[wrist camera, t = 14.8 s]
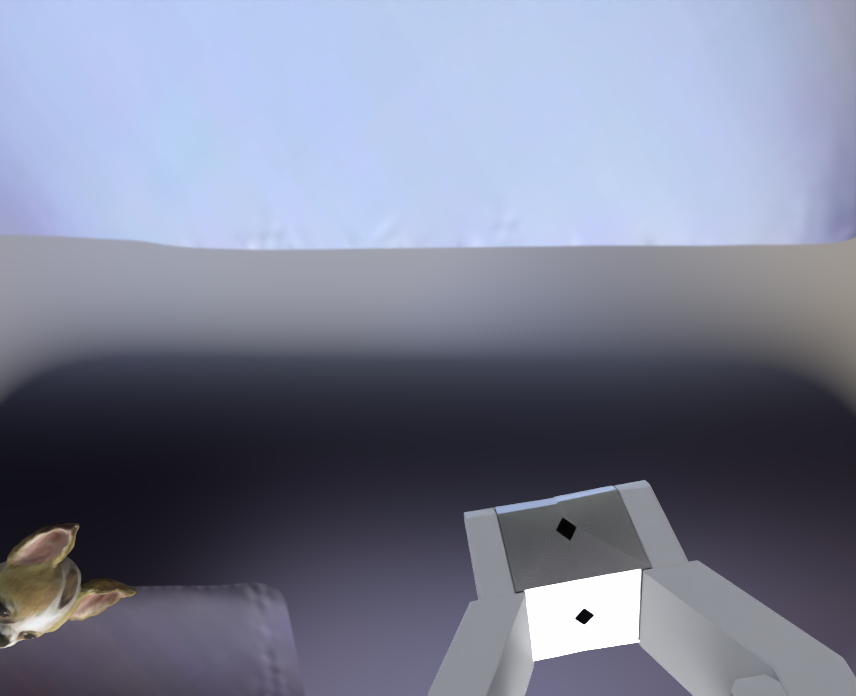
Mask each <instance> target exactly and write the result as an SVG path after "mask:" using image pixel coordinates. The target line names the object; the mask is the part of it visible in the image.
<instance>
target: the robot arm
mask: <svg viewBox="0 0 856 696" xmlns="http://www.w3.org/2000/svg"><path fill="white" fill-rule="evenodd" d="M464 519H465V520H464V521H465V526H466V532H467V537H468V543H469V549H470V555H471V560H472V566H473V571H474V577H475V582H476V588H477V593H478V599H479V600H477V601H472V602H470V604H469V606H468V608H467V610H466V612H465V615H464V617H463V619H462V621H461V623H460V625H459V628H458V630H457V632H456V634H455V636H454V638H453V641H452V643H451V645H450V647H449V649H448V651H447V654H446V656H445V658H444V660H443V662H442V664H441V667H440V669H439V671H438V674H437V675H436V678H435V680H434V682H433V684H432V686H431V688H430V690H429V693H428V695H427V696H525V692H526V689H527V686H528V683H529V679H530V676H531V673H532V670H533V666H534V661H535V660H540V659H545V658H550V657H555V656H559V655H564V654H569V653H574V652H578V651H583V650H589V649H595V648H602V647H609V646H615V645H621V644H628V643H634V642H639V645H640V646H641V647H642V648H643V649H644V650H646V651H647V652H648V653H649V654H650V655H651V656H652V657H653V658H654V659H655V660H656V661H657V662H658V663H659V664H661V666H662V667H664V668H665V669H666V670H667V671H668V672H669V673H670V674H671V675H672V676H673V677H674V678H675V679H676V680H677V681H678V682H679V683H681V685H683V686H684V687H685V688H686V689H687V690H688V691H689V692H690V693H691V694H692V695H693V696H856V678H855V676H854V674H853V673H852V671H851V670H850V668H849V666H848V665H847V663H846V662H845V660H844V658H842V657H841V656H840V655H838V654H836V653H835V652H834V651H832V650H830V649H829V648H828V647H826V646H824V645H823V644H822V643H820V642H819V641H817V640H815V639H814V638H813V637H811V636H810V635H808V634H807V633H805V632H803V631H802V630H801V629H799V628H798V627H796V626H795V625H793V624H792V623H790V622H789V621H787V620H786V619H784V618H783V617H781V616H780V615H778V614H777V613H775V612H774V611H772V610H771V609H769V608H768V607H766V606H765V605H763V604H762V603H760V602H759V601H757V600H756V599H754V598H753V597H751V596H750V595H748V594H747V593H745V592H744V591H742V590H741V589H739V588H738V587H737V586H735V585H734V584H732V583H731V582H729V581H728V580H726V579H725V578H723V577H722V576H720V575H718V574H717V573H716V572H714V571H713V570H711V569H709V568H708V567H707V566H705V565H704V564H702V563H701V562H699V561H692V562H688V560H687V558H686V556H685V554H684V552H683V550H682V548H681V546H680V544H679V542H678V540H677V538H676V536H675V534H674V532H673V530H672V528H671V526H670V524H669V522H668V520H667V518H666V516H665V514H664V512H663V510H662V508H661V506H660V504H659V502H658V500H657V498H656V496H655V494H654V492H653V490H652V488H651V486H650V485H649V484H648V483H647V482H646V481H645V480H643V481H638V482H632V483H627V484H621V485H616V486H614V487H613V486H608V487H602V488H597V489H592V490H588V491H582V492H577V493H572V494H567V495H562V496H557V497H553V498H551V499H545V500H538V501H532V502H526V503H520V504H512V505H506V506H500V507H495V509H494V508H489V509H483V510H477V511H471V512H465V513H464Z"/></svg>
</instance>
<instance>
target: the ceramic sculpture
mask: <svg viewBox="0 0 856 696" xmlns="http://www.w3.org/2000/svg"><path fill="white" fill-rule="evenodd" d="M78 528H79V525H78V524H54V525H51V526H46V527H43V528H41V529H39V530H37V531H36V532H34V533H33V534H31V535H29V536H27V537H26V538H25V539H23V540H22V541H21V542H20V543H19V544H17V545H16V546H14V547H13V549H12V550H11V552H10V553H9V555H8V557H7V561H5V562H3V563H1V564H0V648H6V647H9V646H12V645H14V644H15V643H16V642H18V641H20V640H24V639H32V638H36V637H39V636H41V635H42V634H44V633H46V632H52V631H55V630H56V629H58V628H59V627H60V626H61V625H62V624H63V623H64V622H65V621H66V620H67V619H69V620H84V619H86V618H87V617H90V616H95V615H98V614H99V613H101V612H102V611H105V609H106V608H107V607H110V606H112V605H113V604H115V603H116V602H118V601H119V600H120V599H122V598H124V597H130V596H133V595H135V594H136V593H137V591H136V590H135V588H132V587H129V586H127V585H125V584H122V583H120V582H118V581H115V580H112V579H108V578H104V577H101V578H95V579H92V580H89V581H86V582H83V583H81V572H80V570H79V569H78V567H77V565H76V564H75V563H74V562H73V561H72V560H71V559H70V558H68V557H67V555H68V554H69V553H70V551H71V550H72V548H73V547H74V543H75V538H76V532H77V530H78Z"/></svg>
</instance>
